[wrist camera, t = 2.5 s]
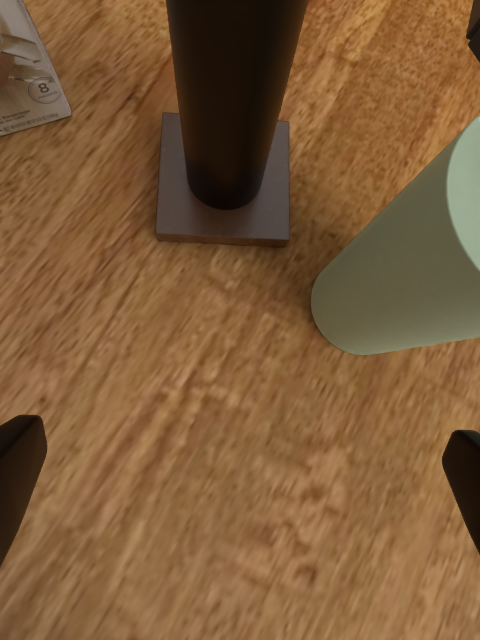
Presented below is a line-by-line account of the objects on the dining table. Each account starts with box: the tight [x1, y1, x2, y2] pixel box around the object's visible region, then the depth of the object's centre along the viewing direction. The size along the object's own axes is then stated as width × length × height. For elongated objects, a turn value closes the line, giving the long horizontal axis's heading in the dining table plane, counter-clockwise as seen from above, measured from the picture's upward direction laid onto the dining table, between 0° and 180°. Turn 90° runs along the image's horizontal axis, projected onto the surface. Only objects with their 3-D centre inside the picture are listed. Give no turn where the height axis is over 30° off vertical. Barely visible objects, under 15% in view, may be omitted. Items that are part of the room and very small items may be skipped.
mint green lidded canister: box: [311, 0, 480, 355], centre depth 17 cm, size 13×6×14 cm, turn 164°
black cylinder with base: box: [155, 0, 308, 247], centre depth 15 cm, size 8×8×18 cm
